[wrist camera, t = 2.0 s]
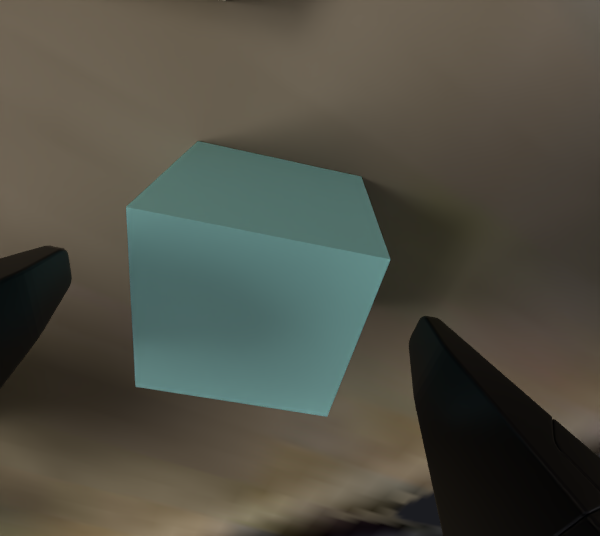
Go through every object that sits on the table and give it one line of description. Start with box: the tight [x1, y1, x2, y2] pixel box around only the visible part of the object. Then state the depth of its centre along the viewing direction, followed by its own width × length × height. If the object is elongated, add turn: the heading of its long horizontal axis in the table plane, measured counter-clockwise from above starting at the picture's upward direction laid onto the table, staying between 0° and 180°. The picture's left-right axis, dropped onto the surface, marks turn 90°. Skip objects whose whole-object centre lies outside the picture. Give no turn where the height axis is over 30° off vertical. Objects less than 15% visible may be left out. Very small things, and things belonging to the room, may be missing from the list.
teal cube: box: [126, 141, 391, 417], centre depth 10 cm, size 5×5×5 cm
